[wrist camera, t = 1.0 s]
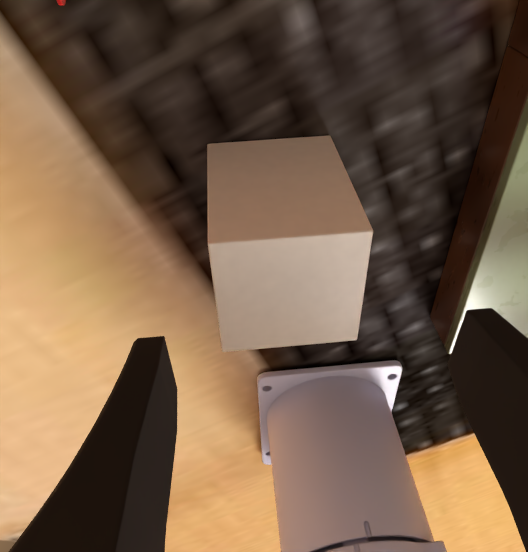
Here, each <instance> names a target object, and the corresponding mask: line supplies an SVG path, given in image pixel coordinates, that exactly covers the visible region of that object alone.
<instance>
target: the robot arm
mask: <svg viewBox="0 0 528 552" xmlns="http://www.w3.org/2000/svg"><path fill="white" fill-rule="evenodd" d="M448 368H449V371H450V374H451V377H452V380H453V383H454V387H455V389H456V392H457V395H458V398H459V401H460V404H461V406H462V408H463V410H464V412H465V414H466V416H467V419H468V421H469V423H470V425H471V427H472V429H473V431H474V433H475V435H476V437H477V439H478V441H479V443H480V446H481V448H482V450H483V452H484V454H485V456H486V458H487V460H488V462H489V464H490V466H491V468H492V470H493V472H494V474H495V476H496V478H497V480H498V483H499V485H500V487H501V489H502V491H503V493H504V495H505V498H506V500H507V502H508V505H509V507H510V509H511V512H512V515H513V517H514V520H515V523H516V525H517V528H518V531H519V534H520V536H521V539H522V542H523V544H524V547H525V550H526V552H528V338H527V337H525V336H524V335H523V334H522V333H521V332H520V331H518V330H517V329H516V328H515V327H514V326H513V325H512V324H510V323H509V322H508V321H507V320H506V319H504V318H503V317H502V316H501V315H500V314H498V313H497V312H496V311H495V310H494V309H492V308H484V309H472V310H467V311H466V313H465V316H464V319H463V322H462V325H461V328H460V330H459V333H458V336H457V339H456V342H455V344H454V347H453V350H452V353H451V356H450V358H449V361H448ZM401 373H402V366H401V363H400V362H399V361H396V360H391V361H380V362H369V363H358V364H347V365H337V366H326V367H315V368H304V369H294V370H283V371H272V372H264V373H261V374H260V375H259V376H258V377H257V386H258V402H259V417H260V433H261V449H262V461H263V463H264V464H267V465H271V464H272V473H273V482H274V491H275V500H276V510H277V519H278V528H279V537H280V546H281V552H447V551H446V548H445V545H444V542H443V541H436V542H434V539H433V536H432V533H431V530H430V527H429V524H428V521H427V518H426V515H425V512H424V509H423V506H422V503H421V500H420V497H419V494H418V491H417V488H416V485H415V482H414V479H413V476H412V473H411V470H410V467H409V464H408V461H407V458H406V455H405V452H404V449H403V446H402V443H401V440H400V437H399V434H398V431H397V428H396V425H395V422H394V419H393V416H392V413H391V411H392V408H393V404H394V400H395V396H396V392H397V388H398V384H399V380H400V376H401ZM176 435H177V386H176V382H175V378H174V374H173V370H172V366H171V362H170V358H169V354H168V350H167V346H166V342H165V338H164V336H160V337H149V338H138V339H137V340H136V341H135V342H134V343H133V346H132V348H131V351H130V353H129V355H128V358H127V360H126V362H125V365H124V367H123V369H122V371H121V373H120V376H119V378H118V380H117V382H116V384H115V386H114V388H113V390H112V392H111V394H110V396H109V398H108V400H107V402H106V404H105V405H104V407H103V409H102V411H101V413H100V415H99V417H98V419H97V421H96V422H95V424H94V426H93V428H92V429H91V431H90V433H89V435H88V436H87V438H86V440H85V441H84V443H83V445H82V446H81V448H80V450H79V451H78V453H77V455H76V456H75V458H74V460H73V461H72V463H71V465H70V466H69V468H68V469H67V471H66V472H65V474H64V475H63V477H62V479H61V480H60V482H59V483H58V485H57V486H56V488H55V489H54V491H53V492H52V493H51V495H50V496H49V498H48V499H47V501H46V502H45V503H44V505H43V506H42V508H41V509H40V511H39V512H38V513H37V515H36V516H35V517H34V519H33V520H32V521H31V523H30V524H29V525H28V527H27V528H26V529H25V531H24V532H23V533H22V535H21V536H20V537H19V539H18V540H17V542H16V543H15V544H14V545H13V547H12V548H11V549H10V551H9V552H165V535H166V523H167V514H168V505H169V497H170V488H171V479H172V471H173V462H174V453H175V444H176Z"/></svg>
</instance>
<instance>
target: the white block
mask: <svg viewBox="0 0 528 552" xmlns="http://www.w3.org/2000/svg"><path fill="white" fill-rule="evenodd" d="M207 193H208V249H209V257H210V264H211V272H212V279H213V287H214V294H215V302H216V309H217V317H218V324H219V331H220V339H221V346H222V351H223V352H230V351H241V350H252V349H263V348H275V347H286V346H297V345H308V344H319V343H330V342H341V341H352V340H357V336H358V330H359V323H360V316H361V310H362V303H363V296H364V289H365V283H366V276H367V269H368V262H369V256H370V249H371V242H372V235H373V229H372V227H371V225H370V223H369V220H368V218H367V216H366V214H365V212H364V209H363V207H362V205H361V203H360V200H359V198H358V196H357V194H356V192H355V189H354V187H353V185H352V183H351V181H350V178H349V176H348V174H347V172H346V169H345V167H344V165H343V163H342V161H341V158H340V156H339V154H338V152H337V149H336V147H335V145H334V143H333V141H332V138H331V136H329V135H328V136H314V137H299V138H284V139H270V140H255V141H241V142H226V143H212V144H207Z"/></svg>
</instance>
